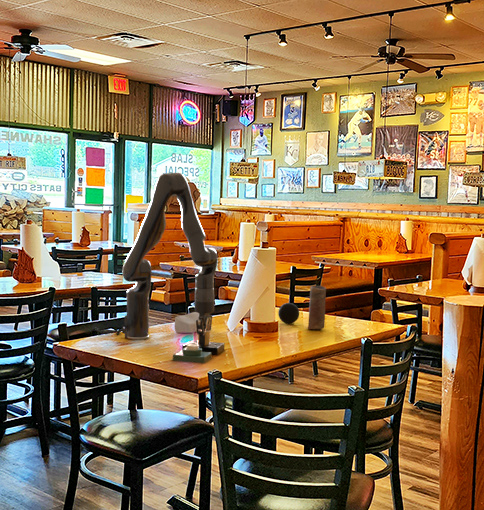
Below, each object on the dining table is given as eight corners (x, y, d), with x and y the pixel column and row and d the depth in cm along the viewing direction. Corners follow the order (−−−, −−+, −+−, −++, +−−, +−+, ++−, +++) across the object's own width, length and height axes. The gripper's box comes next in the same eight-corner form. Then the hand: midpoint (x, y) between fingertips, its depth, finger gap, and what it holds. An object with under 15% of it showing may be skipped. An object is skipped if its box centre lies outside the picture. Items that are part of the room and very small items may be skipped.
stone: (212, 330, 317) (212, 312, 313) (185, 346, 306) (185, 327, 301) (195, 321, 324) (195, 303, 319) (168, 337, 312) (168, 318, 307)
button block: (172, 360, 253) (172, 350, 253) (180, 355, 262) (180, 345, 262) (204, 363, 250) (204, 352, 250) (211, 358, 259) (211, 347, 259)
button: (185, 350, 254) (185, 345, 254) (189, 348, 258) (189, 343, 258) (196, 351, 253) (196, 346, 253) (199, 349, 257) (199, 344, 257)
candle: (323, 328, 325) (325, 285, 323) (325, 331, 317) (327, 287, 316) (307, 327, 325) (308, 285, 323) (308, 330, 318) (310, 287, 316)
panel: (182, 353, 267) (182, 344, 266) (190, 347, 276) (190, 340, 276) (217, 355, 263) (217, 347, 263) (224, 350, 273) (224, 342, 272)
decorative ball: (303, 323, 335) (303, 303, 335) (289, 326, 329) (289, 305, 328) (287, 321, 343) (288, 300, 342) (273, 323, 336) (274, 302, 335)
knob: (207, 345, 267) (208, 331, 266) (196, 344, 268) (196, 331, 267) (210, 343, 271) (210, 329, 271) (199, 342, 272) (199, 329, 272)
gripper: (200, 296, 276) (200, 339, 277) (189, 301, 262) (188, 346, 263) (219, 297, 274) (218, 340, 275) (208, 302, 260) (207, 348, 261)
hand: (203, 343), depth 269 cm, fingers closed on knob, 4 cm apart
